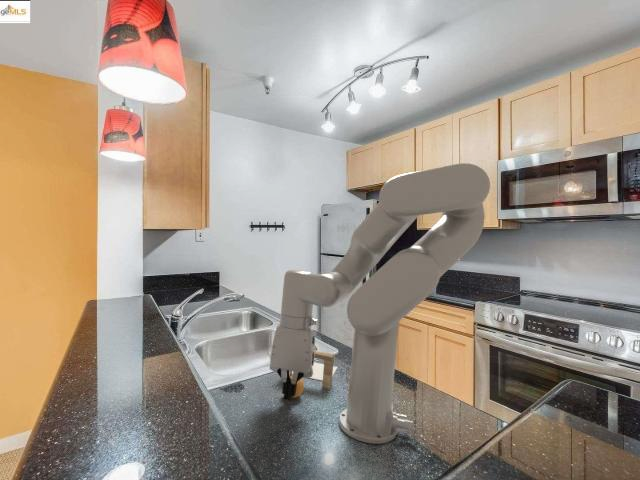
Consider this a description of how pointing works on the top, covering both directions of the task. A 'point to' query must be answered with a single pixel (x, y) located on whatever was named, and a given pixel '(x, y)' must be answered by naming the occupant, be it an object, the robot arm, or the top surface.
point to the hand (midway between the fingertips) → (288, 397)
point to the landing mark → (319, 371)
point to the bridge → (325, 367)
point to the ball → (298, 388)
